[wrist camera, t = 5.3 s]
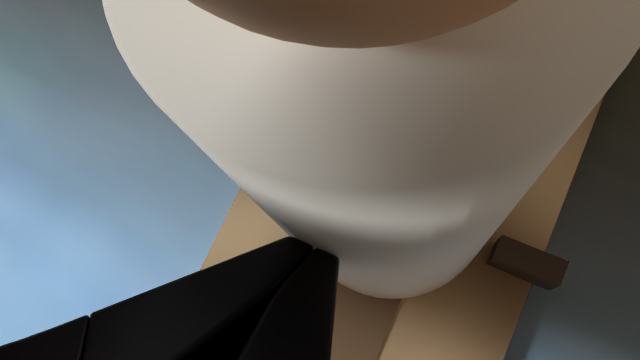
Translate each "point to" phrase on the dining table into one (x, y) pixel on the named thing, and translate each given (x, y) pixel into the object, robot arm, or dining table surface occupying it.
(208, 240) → the dining table surface
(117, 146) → the dining table surface
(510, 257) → the level stand
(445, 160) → the post
